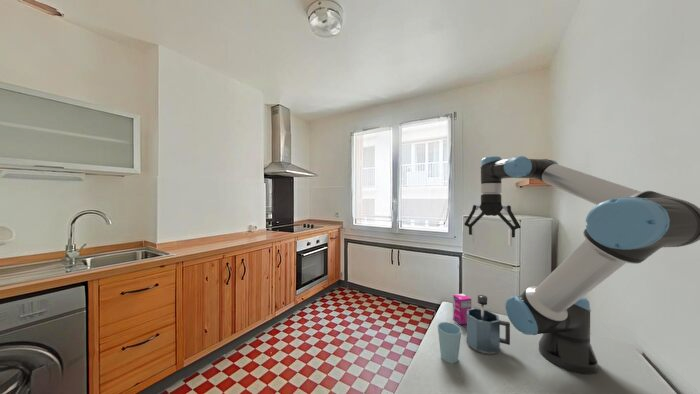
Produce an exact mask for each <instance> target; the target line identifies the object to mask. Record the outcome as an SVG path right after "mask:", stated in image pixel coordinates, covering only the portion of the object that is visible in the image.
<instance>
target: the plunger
mask: <svg viewBox="0 0 700 394" xmlns="http://www.w3.org/2000/svg"><path fill="white" fill-rule="evenodd" d="M477 304H479V305H480V309H481V320H482V321H484V310H485V306H487V305H488V296H486V295H483V294H478V295H477Z"/></svg>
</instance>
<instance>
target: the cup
mask: <svg viewBox="0 0 700 394" xmlns="http://www.w3.org/2000/svg"><path fill="white" fill-rule="evenodd" d="M437 333H438V341H439V351H440V358H441V359H442V360H443V361H445V362H447V363H451V364H455V363H457V362H458V360H459V356H460V355H459V354H460V353H459V352H460V346H461V338H462V329H461V327H460V326H458V325H457V324H455V323H452V322H448V321H446V322H445V321H443V322H439V323H438V324H437Z"/></svg>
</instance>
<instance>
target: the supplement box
mask: <svg viewBox="0 0 700 394" xmlns="http://www.w3.org/2000/svg"><path fill="white" fill-rule="evenodd" d="M468 309H472V298H471V297H470V296H468V295H466V294H465V293H457V294H455V293H454V294H452V319H453V320H454V321H455V322H456V323H458V324H459V325H460V326H463V325H464V326H467V325H466V324H467V310H468Z"/></svg>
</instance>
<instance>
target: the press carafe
mask: <svg viewBox="0 0 700 394" xmlns="http://www.w3.org/2000/svg"><path fill="white" fill-rule="evenodd" d="M500 326H504V328H505V334H504V335H505V337H504V338H502V337H501V336H500V335H501V327H500ZM466 344H467V346H468V347H469V348H470V349H472V350H473V351H475V352H477V353H480V354H482V355H487V356H495V355H498V354H500V351H501V347H500V346H501V344H504V345H508V346H511V322H510V321H505V320H500V318H499V315H498V314H496V313H493V312H492V311H490V310H487V309H484V321H482V320H481V308H476V307H475V308H471V309H468V310H467V325H466Z"/></svg>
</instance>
